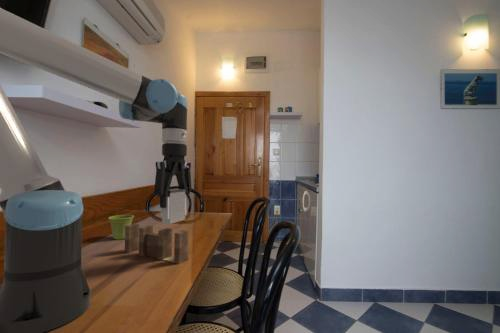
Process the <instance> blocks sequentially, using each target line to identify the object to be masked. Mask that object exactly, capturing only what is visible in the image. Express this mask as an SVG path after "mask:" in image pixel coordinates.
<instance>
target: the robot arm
mask: <svg viewBox="0 0 500 333" xmlns="http://www.w3.org/2000/svg"><path fill="white" fill-rule="evenodd" d="M0 54H1V55H4V56H7V57H8V58H11V59H13V60H15V61H16V60H17V61H19V62H21V63H25V64H27V65H29V66H32V67H35V68H37V69H40V70H42V71H45V72H47V73H49V74H52V75H55V76H57V77H60V78H61V79H65V80H68V81H70V82H72V83H76V84H78V85H80V86H82V87H85V88H88V89H90V90H93V91H95V92H99V93H100V94H103V95H106V96H108V97H111V98H113V99H115V100H118V101H119V102H118V113H119V116H120V118H122V119H124V120H130V121H133V122H134V121H135V122H147V123H153V124H154V123H156V124H161V126H162V127H161V130H162V131H161V142H162V145H161V155H162V157H163V159H162V161H156V162H155V180H154V190H153V194H154V196H156V197H159V208H160V219H162V218H163V219H170V197H167V196H168V192H169V189H171V185H172V181H173V177H175V178H176V182H177V185H178V189H186V191H185V216H186V215H187V204H188V195H190V194H191V192H192V188H193V187H192V176H191V168H192V163H191V162H186V160H185V157H186V156H187V155H188V154H187V153H188V148H187V147H188V146H187V144H186V143H187V142H188V141H187V140H188V139H187V135H188V134H187V132H188V131H187V129H188V128H187V127H188V123H187V122H188V101H187V97H186V96H185V95H184V94H181V93H178V90H177V89H176V87H175V85H174V84H173V83H172V82H171V81H169V80H167V79H164V78H158V79H157V78H156V79H150V78H148V77H146V76H144V75H142V74H140V73H138V72H136V71H134V70H132V69H129V68H127V67H125V66H123V65H121V64H119V63H116V62H115V61H112V60H111V59H109V58H107V57H104V56H102V55H100V54H98V53H96V52H94V51H91V50H89V49H87V48H85V47H83V46H81V45H80V44H79V45H78V44H77V43H76V42H72V41H71V40H69V39H66V38H64V37H62V36H60V35H58V34H56V33H54V32H52V31H50V30H47V29H46V28H44V27H41V26H39V25H37V24H35V23H33V22H30V21H29V20H26V19H25V18H22V17H20V16H18V15H16V14H14V13H12V12H10V11H7V10H5V9H3V8H1V7H0ZM0 190H1V193H0V208H1V210H2V212H3V219H4V220H5V224H4V225H5V226H4V227H5V228H4V231H5V232H4V259H3V260H4V261H3V262H4V263H3V266H4V268H3V269H4V270H3V271H4V272H3V283H2V285H1V287H0V333H46V332H49V331H51V330H55V329H56V328H59V327H61V326H64V325H66V324H69V323H70V322H72V321H74V320H76V319H77V318H79V317H80V316H82V315H83V314H84V313H85V312H86V311H87V310H88V309H89V307H90V305H91V293H92V292H91V289H90V286H89V283H88V281H87V279H86V276H85V273H84V271H83V267H82V251H83V250H82V245H83V243H82V242H83V241H82V238H83V212H84V204H83V198H82V196H81V195H80V194H79V193H77V192H74V191H71V190H70V191H68V190H65V187H64V186H63V184H62V182H61V180H60V178H58V177H55V176H51V175H50V174H48V172H47V170H46V168H45V166H44V165H43V163H42V160H41V158H40V157H39V155H38V153H37V150H36V149H35V147H34V146H33V144H32V142H31V139H30V138H29V136H28V134H27V132H26V130H25V128H24V126H23V125H22V123H21V121H20V119H19V117H18V115H17V113H16V112H15V110H14V108H13V105H12V104H11V102H10V100H9V99H8V97H7V94H6V92H5V91H4V89H3V87H2V84H0Z"/></svg>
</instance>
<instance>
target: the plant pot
mask: <svg viewBox="0 0 500 333" xmlns="http://www.w3.org/2000/svg"><path fill="white" fill-rule="evenodd" d="M134 218H135V216H134V214H120V215H119V214H118V215H117V214H116V215H113V216H109V217H108V220H109V223H110V226H111V227H110V228H111V234H112V239H114V240H125V226H126V225H130V224H133V223H132V222H133V219H134Z"/></svg>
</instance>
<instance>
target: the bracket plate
mask: <svg viewBox="0 0 500 333" xmlns="http://www.w3.org/2000/svg"><path fill="white" fill-rule="evenodd" d="M185 191H186V189H179V188H170V189H169V192H168V196H167V197H170V219H163V218H161V222H162V224H169V225H170V224H174V223H179V222H181V221H184V220H185V221H186V215H185Z"/></svg>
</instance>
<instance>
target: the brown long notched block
mask: <svg viewBox="0 0 500 333" xmlns="http://www.w3.org/2000/svg"><path fill="white" fill-rule="evenodd" d="M157 232H158V233H156V232H154V226H153V225H149V224H148V225H144V226H141V227H140V224H139V223H131V224H130V225H126V226H125V238H124V253H126V254H130V253H134V252H136V251H138V256H141V257H145V256H147V257H152V258H157V260H160V261H163V262H164V261H165V262H170V263H174V264H179V265H180V264H183V263H184V262H186V261H188V260H189V230H184V229H183V230H180V231H179V230H178V231H176V232H174V243H173V228H170V227H166V228H162V229H159V230H158V231H157ZM173 244H174V247H173ZM173 248H174V249H173ZM173 250H174V251H173ZM173 252H174V254H173Z"/></svg>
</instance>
